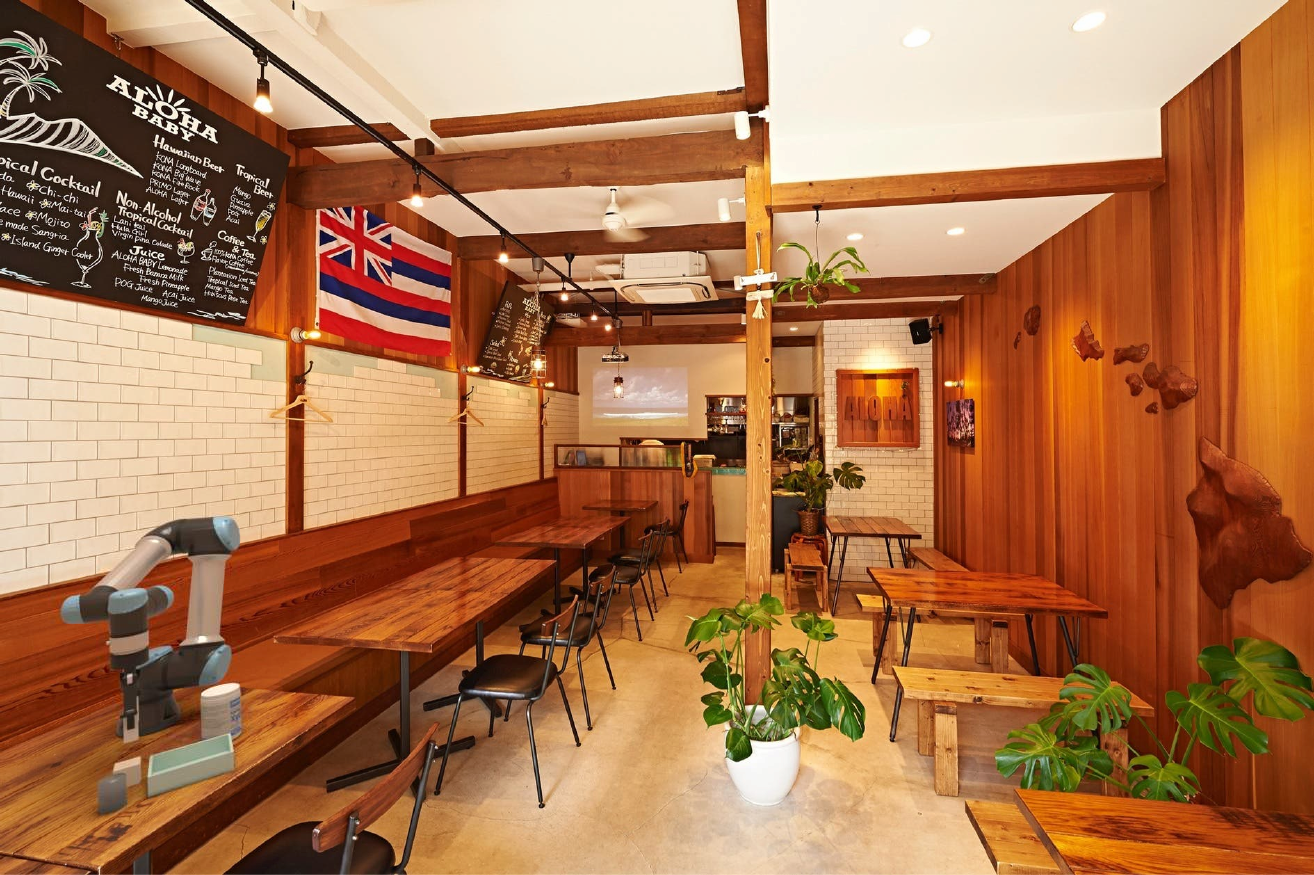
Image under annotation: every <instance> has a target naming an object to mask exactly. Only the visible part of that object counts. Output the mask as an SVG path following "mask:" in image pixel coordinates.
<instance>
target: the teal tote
mask: <svg viewBox="0 0 1314 875" xmlns="http://www.w3.org/2000/svg"><path fill="white" fill-rule="evenodd" d="M234 755H235V750H234V746H233V740H232V739H231V733H229V734H225V735H222V736H218V737H215V738H211V739H208V740H204V741H202V740H201V741H197V742H195V743H191V744H186V745H183V746H181V747H177V748H173V749H169V750H166V751H162V752H159V753H155V754H151V755H150V756H149V760H148V761H149V762H148V769H147V770H148V771H147V797H148V798H152V797H154V796H158V795H160V794H163V793H164V794H165V793H167V792H169V791H172V790H173V791H174V790H176V789H180V788H183V787H186V786H189V785H192V784H195V783H198V782H202V781H205V780H209V779H211V778H214V777H217V776H220V775H223V774H226V773H229V772H233V771H235V756H234Z"/></svg>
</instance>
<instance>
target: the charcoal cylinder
mask: <svg viewBox="0 0 1314 875" xmlns="http://www.w3.org/2000/svg"><path fill="white" fill-rule="evenodd" d="M127 791H128V790H127V787H126V774H125V773H117V774H113V773H112V774H110V775H107V776H105V777H104V778H101V779H100V780H99V781H98V782H97V808H98V809H97V810H98V811H97V812H98V815H103V816H106V815H109V814H113V813H115V812H118V811H120V810H122V809H123V808H125V807H126V806H127V804H128V801H127V800H128V796H127V794H128V793H127Z"/></svg>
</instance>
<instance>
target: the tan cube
mask: <svg viewBox="0 0 1314 875" xmlns="http://www.w3.org/2000/svg"><path fill="white" fill-rule="evenodd" d="M117 773H125V774H126V788H128V787H131V786H135V785H138V784H140V783H141V780H142V779H141V778H142V756H137V757H133V758H130V759H126V760H123V761H120V762H115V763H114V766H113V771H112V775H113V774H117Z"/></svg>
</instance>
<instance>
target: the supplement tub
mask: <svg viewBox="0 0 1314 875" xmlns="http://www.w3.org/2000/svg"><path fill="white" fill-rule="evenodd" d="M241 696H242V694H241V685H240V684H239V683H235V682H231V683H224V684H219V685H215V686H212V687H209V688H208V689H205V690H204V691H202V692H201V694H200V725H201V726H200V727H201V729H200V730H201V741H204V740H208V739H211V738H215V737H218V736H222V735H225V734H229V733H231V739H232V741H234V740H235V739H237V738H238V737H240V735H241V734H242V733H243V732H242V725H243V724H242V697H241Z"/></svg>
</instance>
